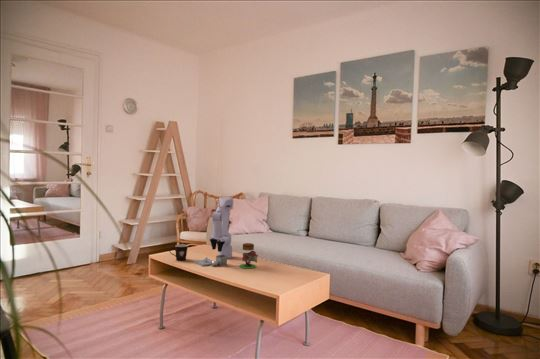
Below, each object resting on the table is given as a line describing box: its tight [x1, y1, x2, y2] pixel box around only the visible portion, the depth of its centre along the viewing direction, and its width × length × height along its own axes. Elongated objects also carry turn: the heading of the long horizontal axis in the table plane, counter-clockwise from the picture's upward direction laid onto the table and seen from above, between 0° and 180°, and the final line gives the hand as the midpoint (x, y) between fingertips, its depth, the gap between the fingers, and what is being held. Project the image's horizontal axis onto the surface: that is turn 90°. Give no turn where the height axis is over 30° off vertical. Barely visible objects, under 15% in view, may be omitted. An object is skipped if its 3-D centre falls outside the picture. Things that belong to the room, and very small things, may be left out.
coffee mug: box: [169, 243, 189, 262], centre depth 250 cm, size 12×9×10 cm
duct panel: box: [193, 256, 214, 267], centre depth 243 cm, size 11×12×4 cm
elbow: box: [210, 254, 228, 267], centre depth 239 cm, size 10×5×6 cm, turn 129°
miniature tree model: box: [239, 242, 259, 270], centre depth 238 cm, size 12×13×15 cm
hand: (216, 250), depth 241 cm, fingers open, 7 cm apart
